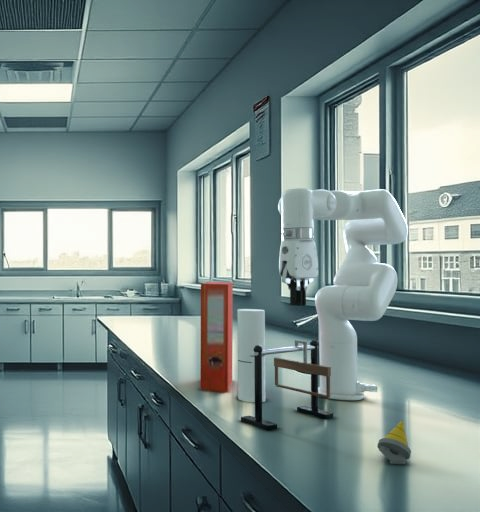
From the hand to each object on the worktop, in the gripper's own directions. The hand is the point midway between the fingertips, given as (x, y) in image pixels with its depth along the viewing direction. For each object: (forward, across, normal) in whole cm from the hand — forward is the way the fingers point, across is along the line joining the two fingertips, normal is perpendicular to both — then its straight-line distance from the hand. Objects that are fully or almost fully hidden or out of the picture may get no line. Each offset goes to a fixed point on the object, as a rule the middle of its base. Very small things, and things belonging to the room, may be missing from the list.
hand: (298, 305), depth 144 cm
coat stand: (+27, -12, -6) cm, 30 cm away
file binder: (+27, +1, +30) cm, 40 cm away
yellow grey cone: (+27, -17, -34) cm, 46 cm away
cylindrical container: (+27, -4, +12) cm, 30 cm away
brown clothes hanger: (+21, -7, -6) cm, 23 cm away
